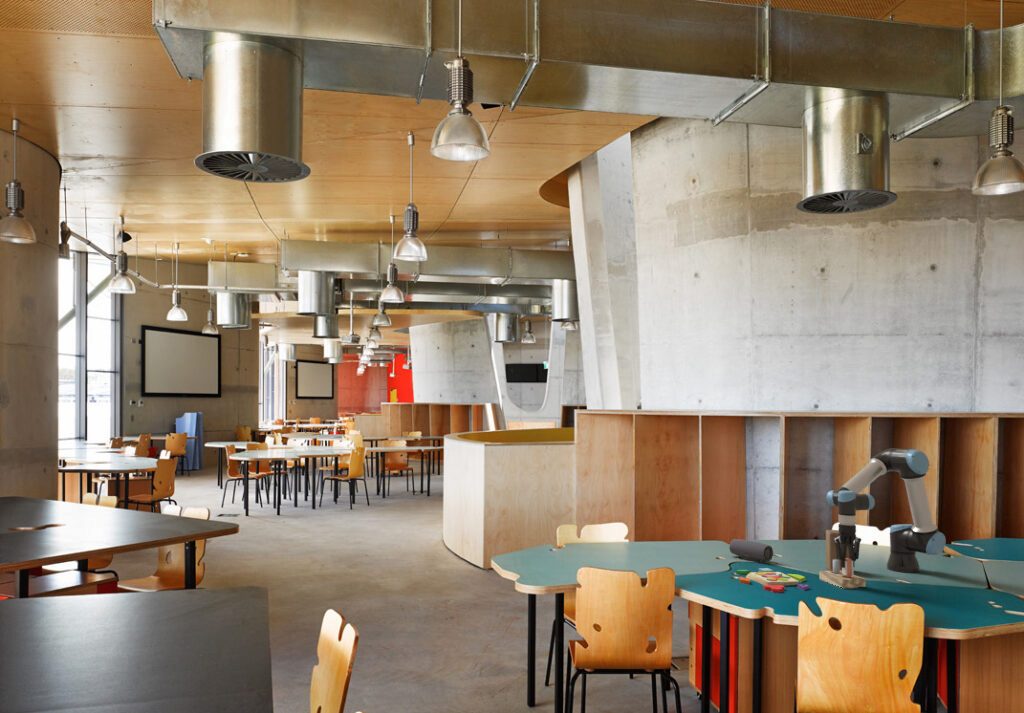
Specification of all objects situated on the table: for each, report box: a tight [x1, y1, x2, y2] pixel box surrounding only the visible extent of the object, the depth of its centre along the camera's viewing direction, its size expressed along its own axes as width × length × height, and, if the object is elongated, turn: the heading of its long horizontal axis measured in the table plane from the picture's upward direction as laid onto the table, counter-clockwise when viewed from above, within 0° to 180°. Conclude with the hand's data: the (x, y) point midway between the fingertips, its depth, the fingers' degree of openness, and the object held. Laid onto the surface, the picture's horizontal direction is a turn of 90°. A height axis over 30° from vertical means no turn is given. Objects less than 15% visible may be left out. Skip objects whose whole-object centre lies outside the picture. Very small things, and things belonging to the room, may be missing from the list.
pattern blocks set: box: [735, 567, 810, 594], centre depth 363 cm, size 38×34×3 cm
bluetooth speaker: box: [728, 538, 774, 562], centre depth 413 cm, size 23×9×10 cm, turn 34°
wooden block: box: [825, 529, 850, 571], centre depth 387 cm, size 10×10×20 cm
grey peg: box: [833, 560, 840, 574], centre depth 364 cm, size 3×3×10 cm
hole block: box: [818, 570, 867, 589], centre depth 360 cm, size 12×18×4 cm, turn 11°
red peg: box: [844, 558, 851, 578], centre depth 356 cm, size 3×3×10 cm
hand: (847, 574), depth 355 cm, fingers closed on red peg, 2 cm apart
